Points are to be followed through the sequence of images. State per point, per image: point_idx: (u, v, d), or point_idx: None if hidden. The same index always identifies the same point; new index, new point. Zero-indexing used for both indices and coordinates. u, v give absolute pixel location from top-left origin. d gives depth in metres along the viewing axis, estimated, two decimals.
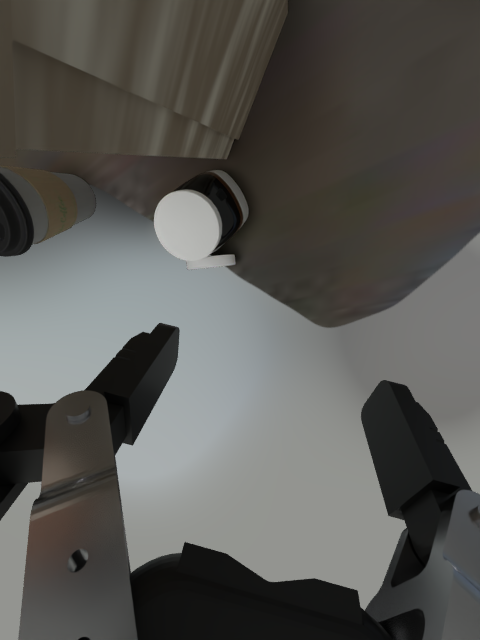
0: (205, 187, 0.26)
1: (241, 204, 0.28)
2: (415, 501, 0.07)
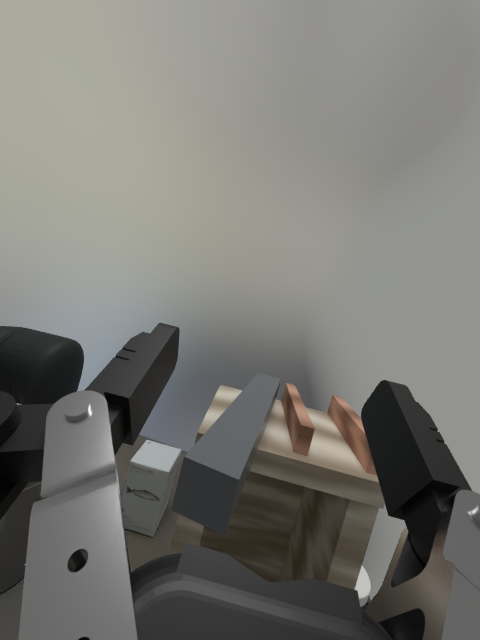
0: None
1: None
2: (415, 501, 0.07)
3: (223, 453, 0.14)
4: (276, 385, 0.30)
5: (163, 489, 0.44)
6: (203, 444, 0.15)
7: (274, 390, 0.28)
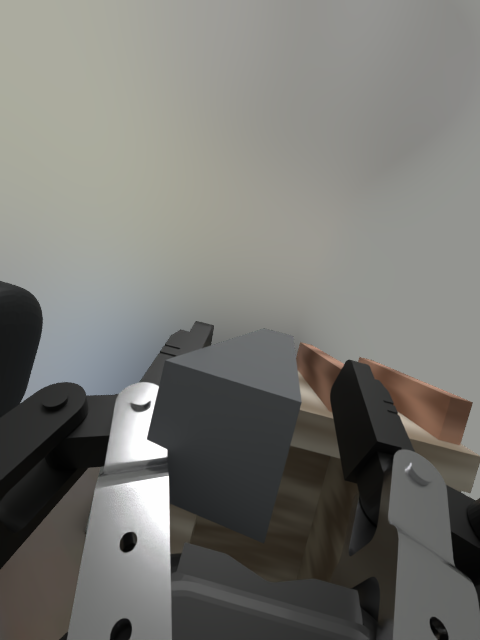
0: None
1: None
2: (365, 464, 0.07)
3: (249, 368, 0.07)
4: (291, 337, 0.22)
5: None
6: (206, 354, 0.07)
7: (291, 339, 0.20)
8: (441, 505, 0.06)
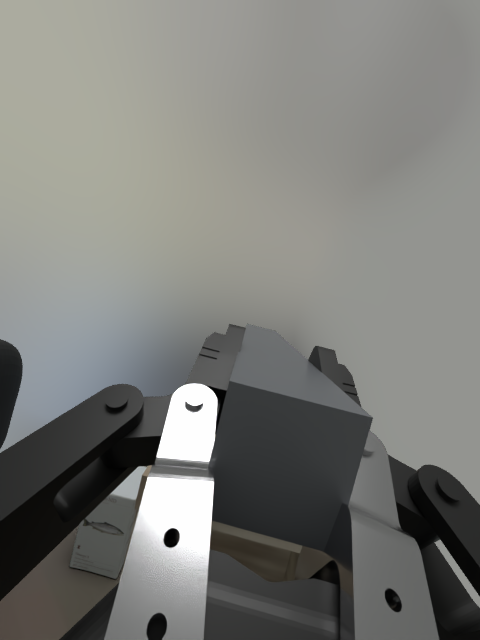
0: None
1: None
2: None
3: (295, 380, 0.07)
4: (276, 333, 0.23)
5: (128, 521, 0.36)
6: (248, 367, 0.07)
7: (279, 335, 0.21)
8: (379, 473, 0.06)
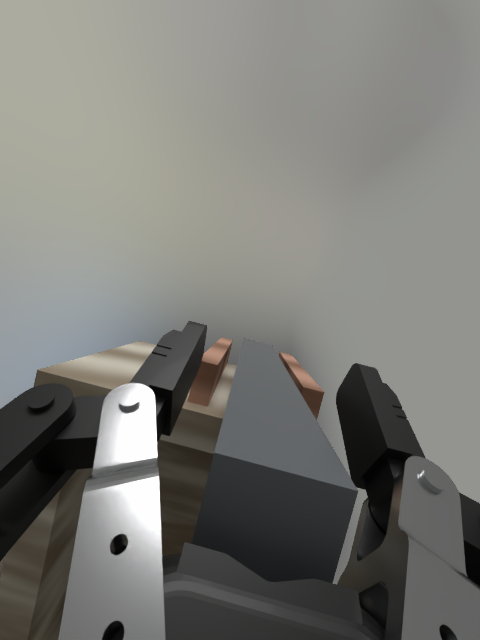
0: None
1: None
2: (375, 470, 0.07)
3: (284, 436, 0.07)
4: (273, 350, 0.23)
5: None
6: (237, 421, 0.07)
7: (275, 354, 0.21)
8: (455, 514, 0.06)
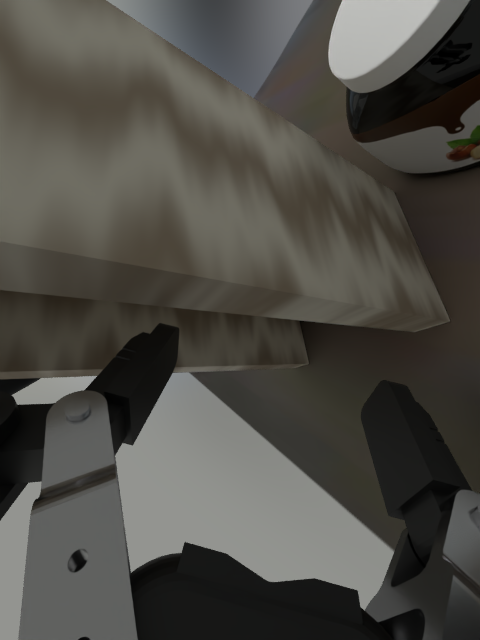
0: (349, 101, 0.16)
1: None
2: (415, 501, 0.07)
3: None
4: None
5: None
6: None
7: None
8: None
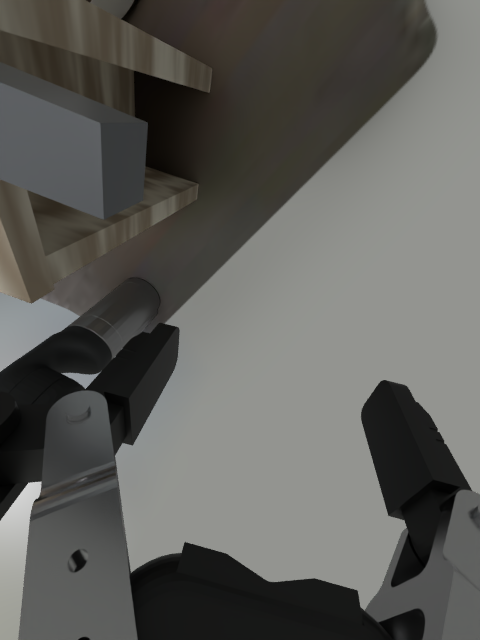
0: None
1: None
2: (415, 501, 0.07)
3: (57, 153, 0.08)
4: None
5: None
6: (59, 192, 0.09)
7: None
8: None
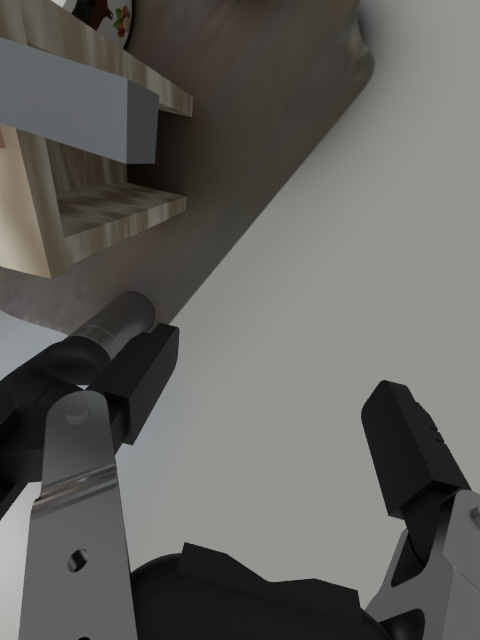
0: None
1: None
2: (415, 501, 0.07)
3: (92, 108, 0.11)
4: None
5: None
6: (91, 142, 0.12)
7: None
8: None
